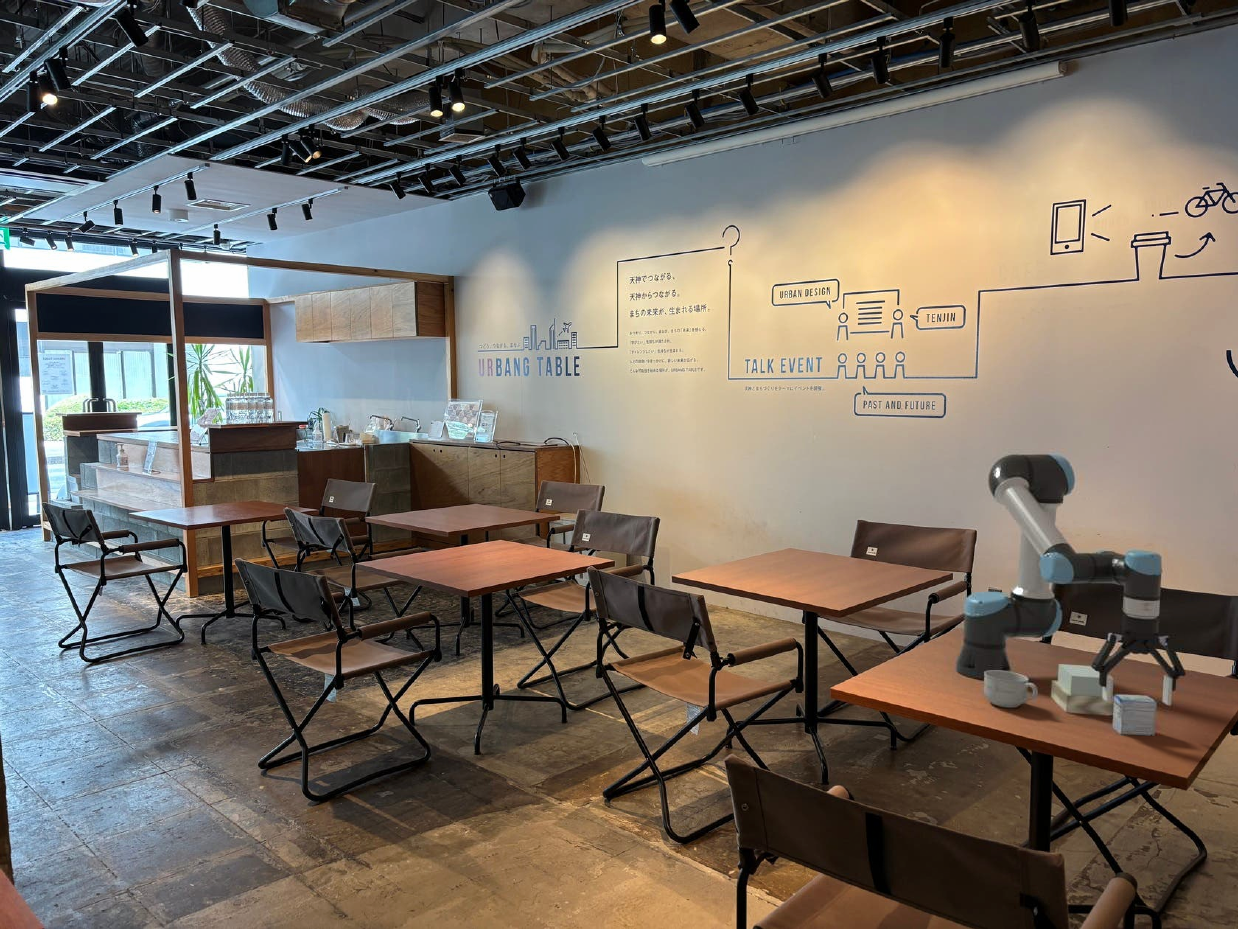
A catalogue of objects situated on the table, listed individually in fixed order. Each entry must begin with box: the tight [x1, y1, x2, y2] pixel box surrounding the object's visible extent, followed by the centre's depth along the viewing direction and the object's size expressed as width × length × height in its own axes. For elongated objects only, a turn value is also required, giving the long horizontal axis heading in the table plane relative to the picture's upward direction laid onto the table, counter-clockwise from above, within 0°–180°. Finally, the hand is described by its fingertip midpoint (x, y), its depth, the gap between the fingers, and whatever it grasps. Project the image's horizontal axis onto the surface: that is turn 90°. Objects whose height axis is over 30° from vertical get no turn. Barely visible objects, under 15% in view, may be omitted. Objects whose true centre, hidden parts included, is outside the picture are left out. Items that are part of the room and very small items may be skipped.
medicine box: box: [1112, 693, 1157, 737], centre depth 212 cm, size 8×4×9 cm, turn 84°
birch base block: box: [1050, 679, 1115, 716], centre depth 230 cm, size 12×12×5 cm
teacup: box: [983, 670, 1039, 709], centre depth 229 cm, size 14×11×8 cm
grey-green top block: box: [1057, 663, 1114, 698], centre depth 229 cm, size 10×10×5 cm
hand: (1136, 701), depth 211 cm, fingers open, 13 cm apart
